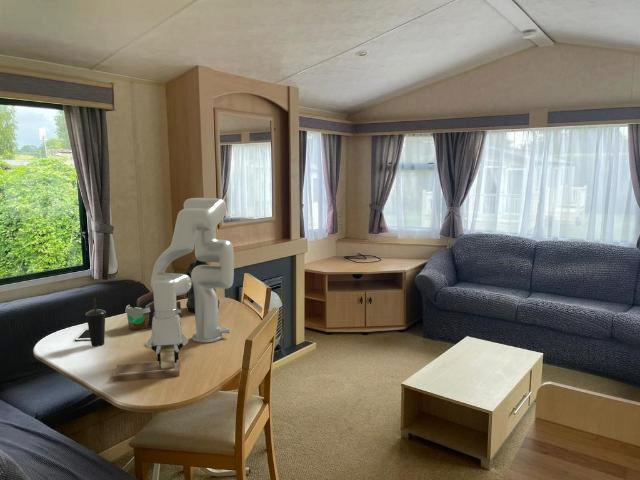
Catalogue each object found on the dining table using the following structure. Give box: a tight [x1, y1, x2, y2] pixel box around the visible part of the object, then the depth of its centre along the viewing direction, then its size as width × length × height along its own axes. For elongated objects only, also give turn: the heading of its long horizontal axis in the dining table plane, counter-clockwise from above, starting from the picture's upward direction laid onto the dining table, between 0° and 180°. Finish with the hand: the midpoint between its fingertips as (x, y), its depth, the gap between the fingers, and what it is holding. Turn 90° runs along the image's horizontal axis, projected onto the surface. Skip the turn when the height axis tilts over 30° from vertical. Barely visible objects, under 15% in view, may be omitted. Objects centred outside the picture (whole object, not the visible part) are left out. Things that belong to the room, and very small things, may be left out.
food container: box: [124, 304, 150, 332], centre depth 224 cm, size 12×6×10 cm, turn 68°
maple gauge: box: [160, 345, 175, 369], centre depth 179 cm, size 5×5×7 cm
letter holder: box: [136, 291, 182, 330], centre depth 235 cm, size 10×20×14 cm, turn 159°
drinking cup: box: [84, 296, 107, 348], centre depth 204 cm, size 8×8×20 cm
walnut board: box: [112, 359, 181, 383], centre depth 178 cm, size 22×10×2 cm, turn 103°
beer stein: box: [185, 260, 221, 315], centre depth 253 cm, size 16×19×25 cm
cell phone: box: [74, 328, 91, 342], centre depth 217 cm, size 8×15×1 cm, turn 7°
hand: (168, 361), depth 179 cm, fingers closed on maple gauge, 4 cm apart
